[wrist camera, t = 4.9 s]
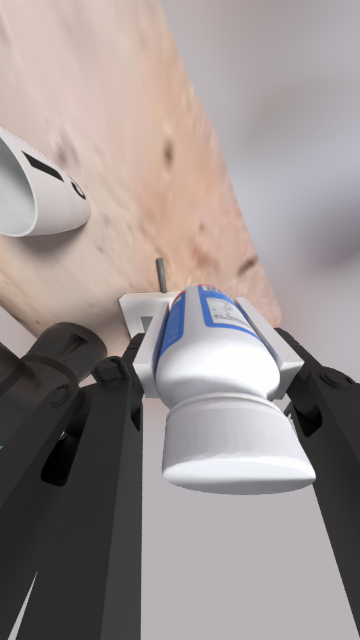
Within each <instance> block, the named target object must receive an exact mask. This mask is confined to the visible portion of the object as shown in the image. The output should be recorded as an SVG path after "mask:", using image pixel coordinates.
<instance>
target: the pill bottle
mask: <svg viewBox="0 0 360 640" xmlns="http://www.w3.org/2000/svg"><path fill="white" fill-rule="evenodd" d="M279 385H280V375H279V370H278V367H277V365H276V363H275V361H274V359H273V357H272V356H271V354H270V353H269V351H268V350H267V348H266V347H265V346H264V344H263V343H262V341H261V340H260V338H259V337H258V336H257V334H256V333H255V332H254V330H253V329H252V327H251V326H250V325H249V323H248V322H247V321H246V319H245V318H244V316H243V315H242V314H241V312H240V311H239V309H238V308H237V307H236V305H235V304H234V302H233V301H232V300H231V298H230V297H229V296H228V294H227V293H225V292H224V291H223V290H221V289H220V288H218V287H216V286H213V285H208V284H198V285H193V286H190V287H188V288H186V289H184V290H183V291H181V292H180V293H179V294H178V295H177V296H176V298H175V299H174V301H173V303H172V305H171V308H170V312H169V317H168V321H167V325H166V329H165V334H164V338H163V343H162V347H161V352H160V356H159V361H158V366H157V371H156V388H157V392H158V394H159V397H160V398H161V400H162V402H163V403H164V404H165V405H166V406H167V407H168V408H169V409H170V411H169V413H168V415H167V418H166V421H167V422H166V427H165V441H164V450H163V460H162V461H163V462H162V475H163V477H164V479H165V480H167V481H168V482H170V483H172V484H174V485H176V486H180V487H183V488H186V489H191V490H196V491H202V492H209V493H218V494H231V495H259V494H273V493H282V492H289V491H294V490H298V489H301V488H304V487H306V486H308V485H311V484H312V483H313V482H314V481H315V480H316V475H315V472H314V470H313V467H312V465H311V463H310V462H309V460H308V458H307V456H306V454H305V452H304V450H303V448H302V446H301V445H300V443H299V441H298V439H297V437H296V435H295V433H294V431H293V429H292V427H291V425H290V422H289V420H288V419H287V417H286V416H285V415H284V414H282V412H281V411H280V409H279V408H278V407H277V406H276V405H275V404H273V403H272V401H273V400H274V398H275V396H276V394H277V392H278V389H279Z"/></svg>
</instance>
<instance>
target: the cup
mask: <svg viewBox="0 0 360 640" xmlns="http://www.w3.org/2000/svg"><path fill="white" fill-rule="evenodd" d="M89 217H90V204H89V201H88V199H87V196H86V195H85V193H84V191H83V190H82V189H81V188H80V187H79V186H78V185H77V184H76V183H75V182H74V181H73V180H72V178H71V177H70V176H69V175H68V174H67V173H66V172H64V171H63V170H62V169H61V168H59V167H58V166H57V165H55V164H54V163H53V162H52V161H50V160H49V159H48V158H46V157H45V156H44V155H42V154H41V153H40V152H39V151H37V150H36V149H35V148H33V147H32V146H30V145H29V144H27V143H26V142H24V141H22V140H21V139H19V138H18V137H16V136H15V135H13V134H11V133H10V132H8V131H7V130H5V129H4V128H2V127H0V233H1V234H4V235H8V236H13V237H20V236H34V235H48V234H56V233H61V232H65V231H69V230H73V229H76V228H78V227H80V226H81V225H83V224H85V223H86V222H87V221H88V220H89Z"/></svg>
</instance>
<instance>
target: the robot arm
mask: <svg viewBox="0 0 360 640" xmlns="http://www.w3.org/2000/svg"><path fill="white" fill-rule="evenodd" d="M234 304H235V305H236V307H237V308H238V309H239V311H240V312H241V314H242V315H243V316H244V318H245V319H246V321H247V322H248V323H249V325H250V326H251V327H252V329H253V330H254V332H255V333H256V334H257V336H258V337H259V338H260V340H261V341H262V343H263V344H264V346H265V347H266V348H267V350H268V351H269V353H270V354H271V356H272V357H273V359H274V361H275V363H276V365H277V367H278V370H279V375H280V385H279V389H278V392H277V394H276V396H275V398H274V399H283V397H284V396H285V394H286V393H287V395H288V396H289V398H290V399H291V402H290V403H289V405H288V406H287V408H286V409H285V411H284V415H285V416H286V417H288V415H289V414H290V413H291V419H292V420H293V423H294V426H295V429H296V432H297V436H298V439H299V442H300V445H301V446H302V448H303V450H304V452H305V454H306V456H307V458H308V460H309V462H310V463H311V465H312V467H313V470H314V472H315V475H316V480H315V481H314V482H313V483H312V484H313V488H314V491H315V494H316V497H317V500H318V504H319V507H320V510H321V514H322V517H323V520H324V523H325V526H326V530H327V533H328V536H329V539H330V542H331V546H332V549H333V552H334V556H335V559H336V562H337V565H338V569H339V572H340V575H341V578H342V582H343V585H344V588H345V591H346V594H347V597H348V601H349V604H350V607H351V611H352V614H353V617H354V620H355V623H356V627H357V630H358V633H359V636H360V384H359V383H356V382H355V381H353V380H352V379H351V378H350V377H348V376H347V375H345V374H344V373H342V372H340V371H337V370H335V369H333V368H329V367H324V366H322V365H321V364H320V363H319V362H318V361H317V360H316V359H315V358H314V357H313V356H312V355H310V354H309V353H308V352H307V351H306V350H305V349H304V348H303V347H302V346H301V345H300V344H299V343H298V342H297V341H296V340H294V338H293V337H292V336H291V335H290V334H289V333H288V332H286V331H284V330H282V329H280V328H273V327H272V326H271V325H270V324H269V323H268V322H267V321H266V320H265V319H264V318H263V317H262V316H261V314H260V313H259V312H258V311H257V310H256V309H255V308H254V307H253V306H252V305H251V304H250V303H249V301H248V300H247V299H246V298H245V297H242V298H235V301H234ZM169 312H170V308H169V301H167V302H160V303H159V305H158V307H157V309H156V312H155V314H154V316H153V319H152V321H151V323H150V325H149V328H148V330H147V332H146V333H137V334H136V335H135V336H134V337H133V338H132V340H131V341H130V343H129V345H128V347H127V350H126V351H125V352H124V354H123V356H122V358H121V357H118V356H111V357H108V358H106V357H107V349H106V347H105V345H104V343H103V342H102V340H101V339H100V338H99V337H98V336H97V335H96V334H94V333H93V332H91V331H90V330H88V329H86V328H84V327H82V326H80V325H77V324H73V323H57V324H54V325H53V326H51V327H50V328H48V329H46V330H45V331H44V332H43V333H42V334H41V336H40V337H39V338H38V340H37V341H36V342H35V343H34V345H33V346H32V347H31V349H30V350H29V351H28V353H27V354H26V355H25V356H23V357H22V358H20V359H19V358H18V357H17V356H16V355H15V354H14V353H12V352H11V351H10V350H9V349H8V348H7V347H6V346H4V345H3V344H2V343H1V342H0V640H8V638H9V635H10V633H11V631H12V628H13V626H14V624H15V622H16V619H17V617H18V615H19V613H20V610H21V608H22V606H23V603H24V601H25V599H26V596H27V594H28V592H29V590H30V587H31V585H32V582H33V580H34V578H35V576H36V578H35V581H34V585H33V587H32V591H31V594H30V597H29V600H28V603H27V606H26V609H25V612H24V615H23V618H22V622H21V624H20V627H19V631H18V634H17V637H16V640H140V639H141V638H140V637H141V635H140V634H141V546H142V544H141V543H142V456H143V455H142V452H143V451H142V450H143V404H142V397H143V394H145V397H146V398H160V397H159V394H158V392H157V388H156V371H157V366H158V361H159V356H160V352H161V347H162V343H163V338H164V334H165V329H166V325H167V321H168V317H169ZM90 374H92V376H93V377H94V379H95V380H96V382H97V383H94V384H91V385H88V386H84V387H81V388H80V387H79V386H78V384H79V383H80V382H81V381H83V380H84V379H85V378H86V377H88V376H89V375H90ZM63 432H64V434H63V435H62V433H63ZM61 435H62V436H61ZM37 571H38V572H37ZM36 573H37V575H36Z"/></svg>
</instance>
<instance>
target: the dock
mask: <svg viewBox="0 0 360 640" xmlns="http://www.w3.org/2000/svg"><path fill="white" fill-rule="evenodd" d="M157 261H158V268H159V275H160V282H161V289H162V292H148V293H125V294H124V295H123V296H122V297H121V298H120V299H119V302H120V305H121V308H122V311H123V314H124V317H125V320H126V323H127V326H128V329H129V332H130V335H131V338H133V337H134V336H135V335H136V334H137V333H146V332H147V330H148V328H149V325H150V323H151V321H152V319H153V316H154V314H155V312H156V309H157V307H158V305H159V303H160V302H167V301H169V308H171V305H172V303H173V301H174V299H175V298H176V296H177V295H178V294H179V293H180V292H181V291H174V292H167V290H166V282H165V274H164V266H163V258H158V259H157Z"/></svg>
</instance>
